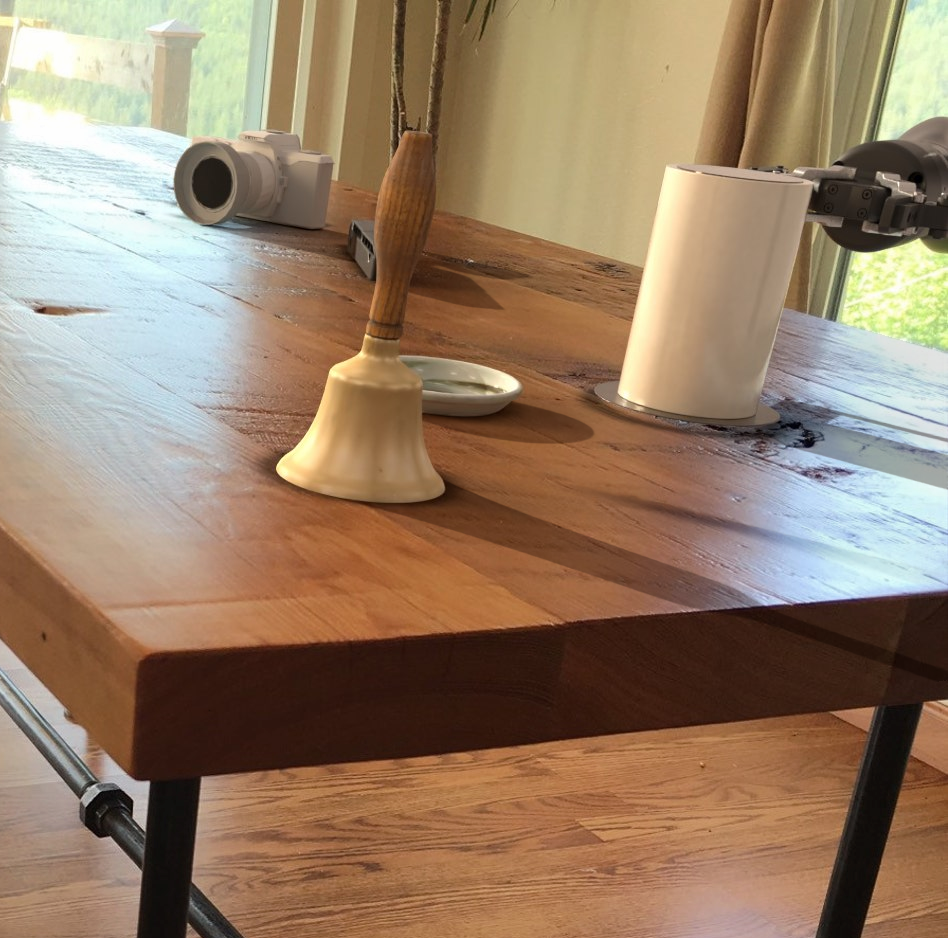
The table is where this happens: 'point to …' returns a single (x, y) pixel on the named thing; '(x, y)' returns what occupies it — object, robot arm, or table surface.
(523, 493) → the table surface
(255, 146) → the digital camera
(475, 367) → the saucer
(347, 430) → the hand bell
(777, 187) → the tall white cylinder
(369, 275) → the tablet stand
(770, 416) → the disc
